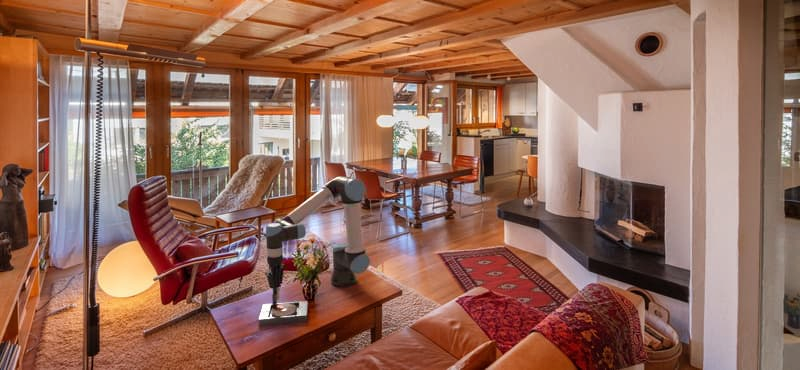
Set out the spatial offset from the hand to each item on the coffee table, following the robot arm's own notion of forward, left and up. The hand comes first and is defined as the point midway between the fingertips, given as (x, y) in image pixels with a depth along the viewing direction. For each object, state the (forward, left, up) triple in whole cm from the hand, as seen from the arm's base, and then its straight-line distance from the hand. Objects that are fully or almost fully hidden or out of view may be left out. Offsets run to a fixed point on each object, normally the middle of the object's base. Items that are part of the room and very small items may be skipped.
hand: (276, 299), depth 208 cm
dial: (-4, +5, -5) cm, 8 cm away
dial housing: (-4, +5, -7) cm, 10 cm away
